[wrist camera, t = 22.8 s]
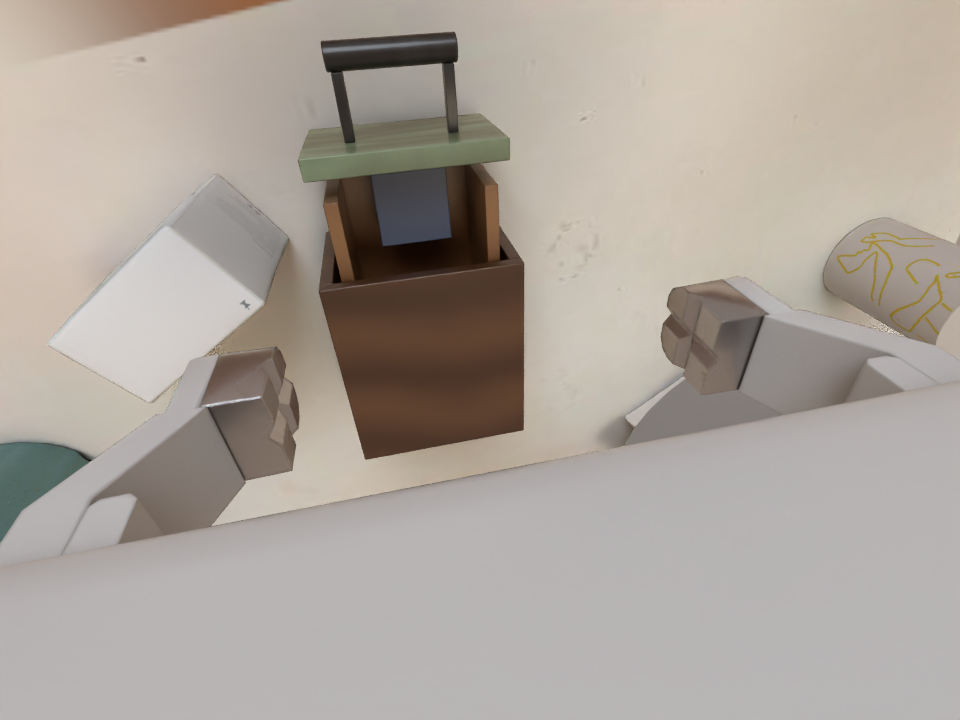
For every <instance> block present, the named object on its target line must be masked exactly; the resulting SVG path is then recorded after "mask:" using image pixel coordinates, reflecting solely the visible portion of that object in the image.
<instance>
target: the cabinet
mask: <svg viewBox="0 0 960 720" xmlns="http://www.w3.org/2000/svg"><path fill="white" fill-rule="evenodd" d="M499 243H500V261H495V262H488V263H481V264H473V265H466V266H459V267H452V268H444V269H437V270H430V271H423V272H415V273H408V274H401V275H394V276H386V277H379V278H372V279H365V280H357V281H350V282H343V283H342V281H341V277H340V273H339V269H338V264H337V260H336V256H335V252H334V248H333V244H332V240H331V236H330V232H326V236H325V245H324V253H323V261H322V269H321V278H320V287H319V294H320V298H321V302H322V305H323V309H324V312H325V316H326V320H327V323H328V327H329V330H330V334H331V338H332V341H333V345H334V349H335V352H336V356H337V359H338V363H339V367H340V370H341V374H342V377H343V381H344V385H345V388H346V392H347V395H348V399H349V403H350V406H351V410H352V414H353V417H354V421H355V424H356V428H357V432H358V435H359V439H360V442H361V446H362V450H363V453H364V457H365V459H366V460H367V459H372V458H378V457H383V456H388V455H394V454H399V453H404V452H410V451H415V450H420V449H426V448H431V447H436V446H442V445H447V444H452V443H458V442H463V441H468V440H474V439H479V438H484V437H490V436H495V435H500V434H506V433H511V432H516V431H522V430H524V262H523V261H522V259H521V258H520V256H519V254H518V253H517V251H516V250H515V248H514V247H513V245H512V244H511V242H510V241H509V239H508V238H507V237H506V235H505V234H504V232H503V231H502V229H501V228H500V226H499Z"/></svg>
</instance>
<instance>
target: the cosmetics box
mask: <svg viewBox="0 0 960 720" xmlns="http://www.w3.org/2000/svg"><path fill="white" fill-rule="evenodd" d="M288 240H289V239H288V237H287V236H286V235H285V234H284V233H283V232H282V231H281V230H279V229H278V228H277V227H276V226H275V225H274V224H273V223H272V222H271V221H270V220H268V219H267V218H266V217H265V216H264V215H263V214H262V213H261V212H260V211H259V210H257V209H256V208H255V207H254V206H253V205H252V204H251V203H250V202H249V201H248V200H247V199H245V198H244V197H243V196H242V195H241V194H240V193H239V192H238V191H237V190H236V189H234V188H233V187H232V186H231V185H230V184H229V183H228V182H227V181H225V180H224V179H223V178H222V177H221V176H219V175H218V174H215V175H214V176H213V177H212V178H210V179H209V180H208V181H207V182H206V183H204V184H203V185H202V186H201V187H200V188H198V189H197V190H196V191H195V192H194V193H193V194H191V195H190V196H189V197H188V198H187V199H186V200H185V201H183V202H182V203H181V204H180V205H179V206H178V207H177V208H176V209H175V210H174V211H173V212H172V213H171V214H170V215H169V216H168V217H167V218H165V219H164V220H163V221H162V222H161V223H160V224H159V225H158V226H157V227H156V228H155V229H154V230H153V231H152V232H151V233H150V234H149V235H148V236H147V237H146V238H145V239H144V240H143V241H142V242H141V243H140V244H139V245H138V246H137V247H136V248H135V249H134V250H133V251H132V252H131V253H130V254H129V255H128V256H127V257H126V258H125V259H124V260H123V261H122V262H121V263H120V264H119V265H118V266H117V267H116V268H115V269H114V270H113V271H112V272H111V273H110V274H109V275H108V276H107V277H106V279H105V280H104V281H103V282H102V283H101V284H100V285H99V286H98V287H97V288H96V289H95V290H94V291H93V292H92V293H91V294H90V295H89V296H88V298H87V299H86V300H85V301H84V302H83V303H82V304H81V305H80V306H79V307H78V309H77V310H76V311H75V312H74V313H73V314H72V315H71V316H70V318H69V319H68V320H67V321H66V322H65V323H64V325H63V326H62V327H61V328H60V329H59V330H58V332H57V333H56V334H55V335H54V336H53V337H52V338H51V339H50V341H49V342H48V343H47V344H48V346H50V347H51V348H53V349H54V350H56V351H58V352H59V353H61V354H63V355H65V356H66V357H68V358H70V359H71V360H73V361H75V362H77V363H79V364H80V365H82V366H84V367H86V368H87V369H89V370H91V371H93V372H95V373H96V374H98V375H100V376H102V377H103V378H105V379H107V380H109V381H110V382H112V383H114V384H116V385H118V386H119V387H121V388H123V389H125V390H126V391H128V392H130V393H132V394H133V395H135V396H137V397H139V398H141V399H142V400H144V401H146V402H148V403H153V402H155V401H156V400H157V399H158V398H159V397H160V396H161V395H162V394H163V393H164V392H165V391H166V390H167V389H169V388H170V387H171V386H172V385H173V384H174V383H175V382H176V381H178V380H179V379H180V378H181V377H182V376H183V374H184V372H185V369H186V367H187V365H188V363H189V361H190V360H192V359H194V358H199V357H205V356H206V355H207V354H208V353H209V352H211V351H212V350H213V349H214V348H215V347H216V346H218V345H219V344H220V343H221V342H222V341H223V340H224V339H226V338H227V337H228V336H229V335H230V334H231V333H233V332H234V331H235V330H236V329H237V328H238V327H240V326H241V325H242V324H243V323H244V322H245V321H247V320H248V319H249V318H250V317H251V316H252V315H254V314H255V313H256V312H257V311H258V310H259V309H261V308H262V307H263V306H264V305H265V304H266V301H267V298H268V295H269V292H270V289H271V286H272V283H273V280H274V276H275V273H276V270H277V268H278V265H279V262H280V260H281V257H282V255H283V253H284V250H285V248H286V245H287V243H288Z"/></svg>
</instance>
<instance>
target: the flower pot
mask: <svg viewBox="0 0 960 720" xmlns="http://www.w3.org/2000/svg"><path fill="white" fill-rule="evenodd" d="M88 463H89V461H87V460H86V459H84V458H83V457H82V456H81V455H80V454H79V453H78V452H77V451H74V450H71V449H68V448H64V447H60V446H55V445H49V444H42V443H9V444H2V445H0V543H1V541H2V540H3V538H4V537H5V535H6V534H7V532H8V531H9V529H10V528H11V526H12V525H13V523H14V522H15V520H16V519H17V517H18V516H19V514H20V513H21V511H22V510H23V509H25V508H26V507H28V506H29V505H30V504H32V503H33V502H35V501H36V500H37V499H39V498H40V497H42V496H43V495H44V494H46V493H47V492H49V491H50V490H51V489H53V488H54V487H56V486H57V485H58V484H60V483H61V482H63V481H64V480H65V479H67V478H68V477H70V476H71V475H72V474H74V473H75V472H77V471H78V470H79V469H81V468H82V467H84V466H85V465H86V464H88Z"/></svg>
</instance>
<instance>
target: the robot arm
mask: <svg viewBox="0 0 960 720" xmlns="http://www.w3.org/2000/svg"><path fill="white" fill-rule="evenodd" d="M667 307H668V309H669V311H670V312H671V315H670V316H669V317H668V318H667V319H666V321H665V322H664V323H663V326H662V332H661V341H662V348H663V350H664V352H665V355H666V357H667V358H668V359H669V360H670V361H671V363H672V364H674V365H676V366H679V367H681V368H684V369H685V370H684V377H685V379H686V380H687V381H688V382H689V383H690V384H691V385H692V386H693V387H694V389H695V390H696V391H697V392H698V393H699V394H700V395H701V396H702V395H708V394H714V393H721V392H727V391H734V390H738V392H740V393H742V394H744V395H746V396H748V397H750V398H751V399H753V400H755V401H757V402H759V403H761V404H763V405H765V406H767V407H768V408H770V409H772V410H774V411H776V412H778V413H780V414H782V415H781V416H776V417H771V418H766V419H760V420H755V421H750V422H745V423H740V424H735V425H730V426H724V427H719V428H714V429H709V430H704V431H699V432H694V433H688V434H683V435H678V436H673V437H668V438H663V439H658V440H652V441H647V442H642V443H637V444H632V445H627V446H622V447H617V448H612V449H607V450H601V451H596V452H591V453H586V454H581V455H576V456H571V457H565V458H560V459H555V460H550V461H545V462H540V463H535V464H529V465H524V466H519V467H514V468H509V469H504V470H499V471H493V472H488V473H483V474H478V475H473V476H468V477H462V478H457V479H452V480H447V481H442V482H437V483H432V484H426V485H421V486H416V487H411V488H406V489H401V490H396V491H390V492H385V493H380V494H375V495H370V496H365V497H360V498H354V499H349V500H344V501H339V502H334V503H329V504H324V505H318V506H313V507H308V508H303V509H298V510H293V511H288V512H282V513H277V514H272V515H267V516H262V517H257V518H252V519H246V520H241V521H236V522H231V523H226V524H221V525H216V526H211V525H212V524H213V523H214V522H215V520H216V519H217V518H218V517H219V515H220V514H221V513H222V512H223V511H224V509H225V508H226V507H227V506H228V504H229V503H230V502H231V501H232V499H233V498H234V497H235V496H236V494H237V493H238V492H239V491H240V489H241V488H242V487H243V486H244V484H245V481H246V480H251V479H255V478H260V477H265V476H270V475H274V474H279V473H284V472H289V471H292V470H293V463H294V456H295V449H296V444H295V441H294V438H293V436H292V434H293V433H294V432H295V431H296V430H297V429H298V426H299V406H298V400H297V396H296V392H295V389H294V386H293V383H292V382H290V381H289V380H287V379H286V378H284V374H285V368H286V364H285V361H284V359H283V356H282V354H281V351H280V350H279V349H278V348H277V347H272V348H265V349H257V350H249V351H242V352H234V353H227V354H222V355H221V354H217V355H211V356H205V357H199V358H194V359H192V360H190V361H189V363H188V365H187V367H186V369H185V372H184V374H183V376H182V378H181V380H180V382H179V384H178V386H177V388H176V391H175V393H174V395H173V397H172V399H171V401H170V403H169V405H168V407H167V410H166V412H165V413H164V414H158V415H155V416H153V417H152V418H151V419H149V420H148V421H146V422H145V423H144V424H142V425H141V426H139V427H138V428H137V429H135V430H134V431H132V432H131V433H130V434H128V435H127V436H125V437H124V438H123V439H121V440H120V441H118V442H117V443H116V444H114V445H113V446H111V447H110V448H109V449H107V450H106V451H104V452H103V453H102V454H100V455H99V456H97V457H96V458H95V459H93V460H92V461H91V462H89V463H88V464H86V465H85V466H84V467H82V468H81V469H79V470H78V471H77V472H75V473H74V474H72V475H71V476H70V477H68V478H67V479H65V480H64V481H63V482H61V483H60V484H58V485H57V486H56V487H54V488H53V489H51V490H50V491H49V492H47V493H46V494H44V495H43V496H42V497H40V498H39V499H37V500H36V501H35V502H33V503H32V504H30V505H29V506H28V507H26V508H25V509H23V510H22V511H21V513H20V514H19V516H18V517H17V519H16V520H15V522H14V523H13V525H12V526H11V528H10V529H9V531H8V532H7V534H6V535H5V537H4V538H3V540H2V541H1V543H0V720H960V359H958V358H956V357H955V356H953V355H951V354H950V353H948V352H946V351H944V350H943V349H941V348H939V347H938V346H936V345H932V344H928V343H925V342H921V341H917V340H913V339H910V338H906V337H902V336H898V335H895V334H891V333H887V332H883V331H880V330H876V329H872V328H868V327H865V326H861V325H857V324H853V323H850V322H846V321H842V320H838V319H835V318H831V317H827V316H823V315H820V314H816V313H812V312H808V311H805V310H795V311H794V310H793V309H791V308H790V307H788V306H787V305H786V304H784V303H783V302H781V301H780V300H778V299H777V298H775V297H774V296H772V295H771V294H770V293H768V292H767V291H765V290H764V289H762V288H761V287H759V286H758V285H756V284H755V283H754V282H752V281H751V280H749V279H748V278H746V277H741V276H736V277H731V278H726V279H721V280H716V281H710V282H705V283H699V284H693V285H688V286H682V287H677V288H673V289H672V291H671V293H670V294H669V297H668V302H667Z"/></svg>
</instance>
